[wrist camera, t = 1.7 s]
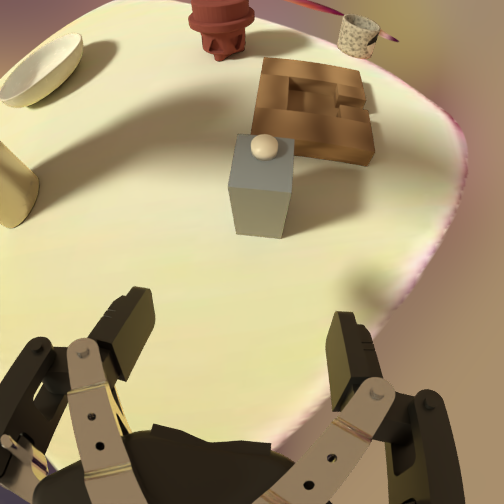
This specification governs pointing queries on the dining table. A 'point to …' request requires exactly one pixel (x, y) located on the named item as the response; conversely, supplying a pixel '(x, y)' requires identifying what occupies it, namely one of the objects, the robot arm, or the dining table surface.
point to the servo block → (261, 184)
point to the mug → (358, 36)
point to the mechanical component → (221, 25)
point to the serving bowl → (42, 71)
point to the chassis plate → (314, 110)
